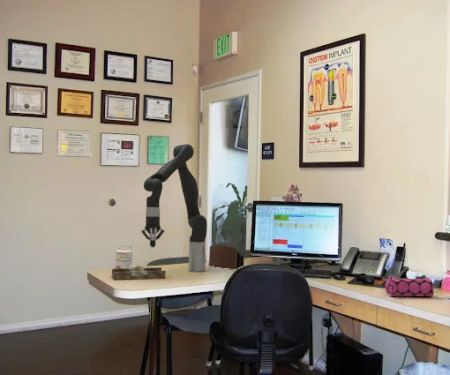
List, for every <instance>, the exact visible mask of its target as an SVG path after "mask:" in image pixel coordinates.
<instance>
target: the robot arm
mask: <svg viewBox="0 0 450 375" xmlns="http://www.w3.org/2000/svg"><path fill="white" fill-rule="evenodd" d="M194 150H195V149H194V147H193V146H192V145H191V144H189V143H188V144H187V143H186V144H179V145H176V146H174V148H173V151H172V155H173V158H171V160H169V161H167V162H166V163H165V164H163V165H162V166H161V167H160V168H159V169H158V170H157V171H156V172H154V173H153V174H152V175H151V176H148V177H147V178H146V179H145V181H144V182H143V188H144V190H145V191H146V192H151V195H149V196H147V197H146V206H145V226H144V228H143V229H141V230H140V232H141V233H142V234H143V236H144V237H145V239H147V240H149V246H150V248H155V247H156V241H157V240H159V239H160V238H161V236H162V235H163V234H164V233H165V230H164V229H163V228H162V227H161V225H160V224H161V222H160V221H161V211H160V209H161V208H160V199H161V195H162V191H163V183H165V182H167V180H169V178H170V177H171V176H172V175H174V173H175V172H176V171H178V176H179V182H180V185H181V190H182V195H183V198H184V203H185V207H186V213H187V222H188V226H189V227H190V229H191V235H190V236H189V245H188V246H189V249H188V252H189V253H188V271H189V272H195V273H196V272H198V273H199V272H206V259H207V258H206V254H205V253H206V252H205V251H206V238H207V233H208V220H207V218H206V217H205V216H204V215H203V214H202V215H201V212H200V209H199V188H198V183H197V180H196V178H195V176H194V175H193V174H192V172H191V171H190V169H189V168H188V165H187V164H188V163H187V162H188V161H189V160H190V159H192V158H193V157H194V153H195V151H194ZM147 233H148V234H147Z"/></svg>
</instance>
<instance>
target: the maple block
mask: <svg viewBox="0 0 450 375" xmlns="http://www.w3.org/2000/svg"><path fill="white" fill-rule="evenodd" d="M144 268H145V265H144V264H132V272H133V271H144Z"/></svg>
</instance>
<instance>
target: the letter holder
mask: <svg viewBox="0 0 450 375" xmlns="http://www.w3.org/2000/svg"><path fill="white" fill-rule="evenodd" d="M208 253H209V256H208V257H209V258H208V267H209V266H214V267H213V268H216V267H221V268H220V269H223V268H230V269H229V270H231V269H238V268H239V267H241V266H244V267H245V264H244V263H245V260H244V259H245V256H243V255H242V254H241V252H239V251H238V248H236V247H234V246H228V245H210V247H209V252H208ZM238 270H239V269H238Z"/></svg>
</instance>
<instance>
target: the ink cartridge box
mask: <svg viewBox="0 0 450 375" xmlns="http://www.w3.org/2000/svg"><path fill="white" fill-rule="evenodd" d="M132 262H133V246H132V245H129V244H128V245H127V244H125V245H124V244H123V245H122V244H119V245H118V250H116V251H115V262H114V263H115V267H114V269H120V268H132V265H133V263H132Z"/></svg>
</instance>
